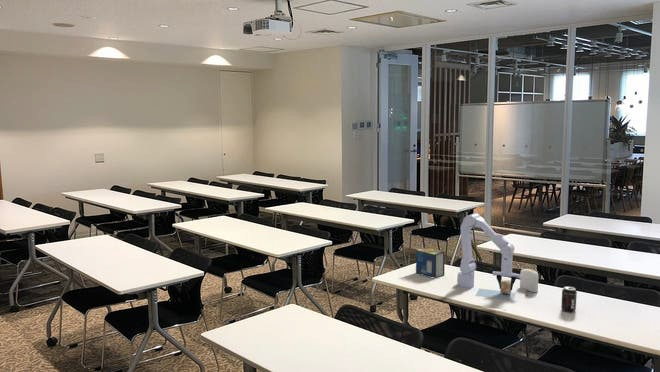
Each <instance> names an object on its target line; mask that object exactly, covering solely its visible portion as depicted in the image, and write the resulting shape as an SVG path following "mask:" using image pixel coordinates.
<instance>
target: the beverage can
mask: <svg viewBox="0 0 660 372" xmlns="http://www.w3.org/2000/svg"><path fill="white" fill-rule="evenodd" d="M577 297H578V292H577V290H576V288H575V287H574V286H563V289H562V290H561V306H560V307H561V308H560V309H562V311H564V312H567V313H574V312H576V310H577Z"/></svg>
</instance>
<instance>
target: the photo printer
mask: <svg viewBox="0 0 660 372" xmlns="http://www.w3.org/2000/svg"><path fill="white" fill-rule="evenodd" d="M519 274H520V278H519V289H520V290H521V289H523V290H526V291H528V292H532V293H537V292H538V291H539V273H538V272H537V271H536V270H534V269H530V268H523V269H521V270H520V273H519Z"/></svg>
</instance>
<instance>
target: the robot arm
mask: <svg viewBox="0 0 660 372" xmlns="http://www.w3.org/2000/svg"><path fill="white" fill-rule="evenodd" d="M473 228H479V229H481V230H483V231H484V232H485V233H486V234H487V235H488V236H489V237H490V239H491V242H492V243H493V245H495V246H496V247H497V248H498V249H499V251H500V254H501V265H500V269H501V271H492V276H494V277H496V280H497V282H498V285H499V289H500V290H501V280H503V277H505V278H510V280H511V291H513V287H514V284H515V281H516V280H517V279H520V273H516V272H513V254H514V252H515V246H514V245H513V243H510V242H509V241H508V240H507V239H505V238H504V237H503V234H500V233H496V231H494V230H493V228H492V227H491V226H490V225H489V223H487V221H485V219H484V217H482V216H481V215H480V213H476V212H475V213H472V214H469V215H468V214H467V215H466V216H465V217H464V218H463V219H462V223H461V225H460V239H461V240H460V241H461V251H462V258H461V260H460V265H459V270H460V271H458V273H457V279H456V286H457V287H461V288H466V289H472V288H474V287H475V271H476V270H477V263H476V261H475V258H474V257H473V250H472V236H471V230H472V229H473Z"/></svg>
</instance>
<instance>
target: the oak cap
mask: <svg viewBox="0 0 660 372" xmlns="http://www.w3.org/2000/svg"><path fill="white" fill-rule="evenodd" d="M499 291H500V293H508V294H510V293H511V292H512V290H511V279H502V280H501V289H500V290H499Z"/></svg>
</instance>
